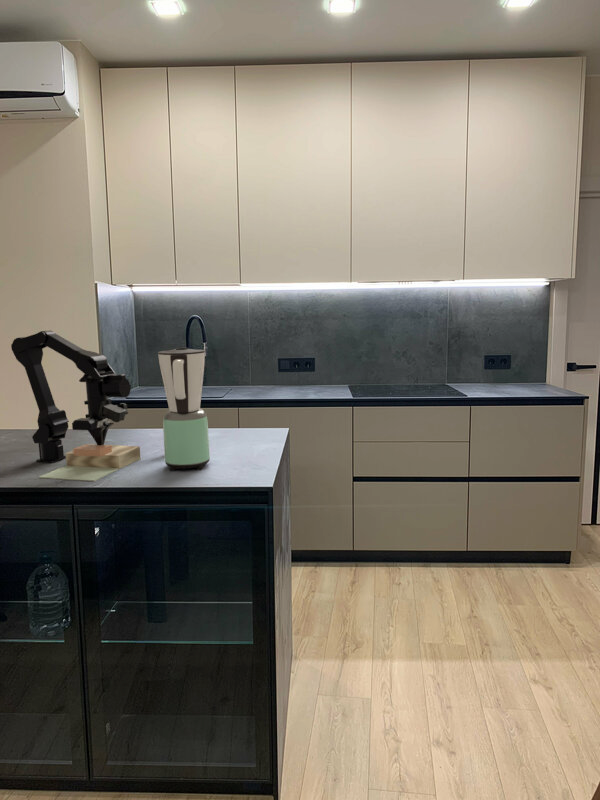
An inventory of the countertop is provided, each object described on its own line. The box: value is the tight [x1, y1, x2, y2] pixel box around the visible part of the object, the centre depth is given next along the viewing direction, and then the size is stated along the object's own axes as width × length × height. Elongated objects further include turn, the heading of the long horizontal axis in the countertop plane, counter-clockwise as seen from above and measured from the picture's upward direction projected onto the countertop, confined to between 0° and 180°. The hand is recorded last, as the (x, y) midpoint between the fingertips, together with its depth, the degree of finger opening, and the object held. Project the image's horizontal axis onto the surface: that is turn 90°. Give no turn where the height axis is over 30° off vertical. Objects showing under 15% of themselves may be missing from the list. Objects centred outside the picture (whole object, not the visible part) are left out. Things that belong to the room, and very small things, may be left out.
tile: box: [72, 443, 112, 457], centre depth 179 cm, size 9×6×2 cm, turn 74°
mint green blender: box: [157, 347, 211, 472], centre depth 174 cm, size 19×13×35 cm
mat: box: [38, 465, 120, 482], centre depth 173 cm, size 18×12×1 cm, turn 75°
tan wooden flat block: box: [65, 443, 141, 470], centre depth 184 cm, size 18×12×4 cm, turn 75°
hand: (101, 447), depth 183 cm, fingers closed
